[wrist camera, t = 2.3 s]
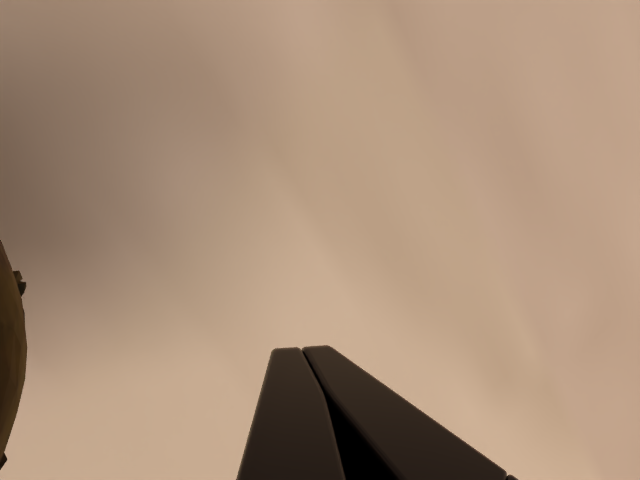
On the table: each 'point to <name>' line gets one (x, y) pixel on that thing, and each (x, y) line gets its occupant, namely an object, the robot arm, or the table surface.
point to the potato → (10, 348)
